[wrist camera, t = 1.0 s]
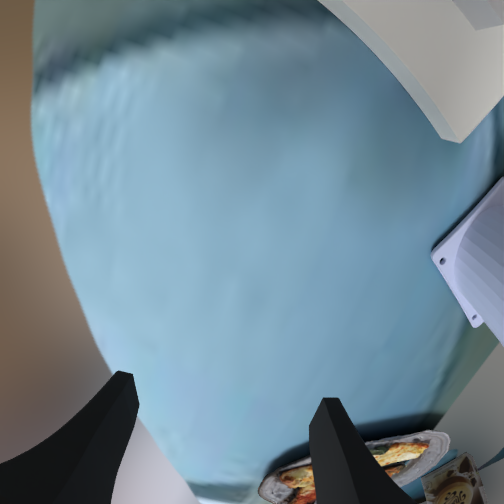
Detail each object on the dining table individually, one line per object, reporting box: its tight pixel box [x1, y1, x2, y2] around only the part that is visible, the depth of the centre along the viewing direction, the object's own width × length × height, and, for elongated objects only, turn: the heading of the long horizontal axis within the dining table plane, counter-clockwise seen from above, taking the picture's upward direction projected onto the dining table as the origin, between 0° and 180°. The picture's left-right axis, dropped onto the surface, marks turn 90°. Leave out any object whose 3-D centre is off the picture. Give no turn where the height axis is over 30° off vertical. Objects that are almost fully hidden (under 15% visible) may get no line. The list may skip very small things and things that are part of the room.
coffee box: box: [421, 452, 489, 504], centre depth 26 cm, size 9×6×16 cm
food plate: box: [258, 430, 450, 504], centre depth 29 cm, size 25×23×4 cm
